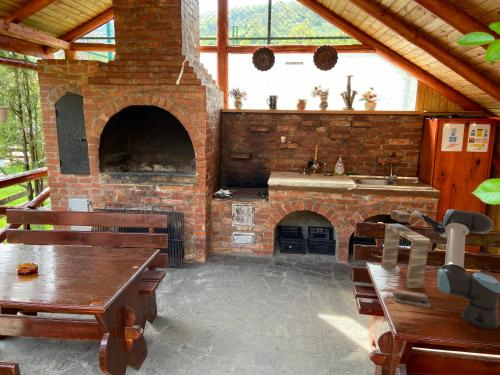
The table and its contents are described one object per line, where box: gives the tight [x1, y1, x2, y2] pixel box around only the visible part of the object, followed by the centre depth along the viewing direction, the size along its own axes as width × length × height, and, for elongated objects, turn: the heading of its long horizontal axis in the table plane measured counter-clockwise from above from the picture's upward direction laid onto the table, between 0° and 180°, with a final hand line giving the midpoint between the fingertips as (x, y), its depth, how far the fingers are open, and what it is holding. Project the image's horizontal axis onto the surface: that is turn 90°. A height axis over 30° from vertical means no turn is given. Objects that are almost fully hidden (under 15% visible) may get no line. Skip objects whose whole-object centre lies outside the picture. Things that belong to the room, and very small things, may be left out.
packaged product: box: [392, 288, 431, 309], centre depth 190 cm, size 18×5×10 cm
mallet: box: [390, 209, 428, 223], centre depth 224 cm, size 10×22×5 cm, turn 98°
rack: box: [380, 223, 431, 289], centre depth 219 cm, size 32×10×30 cm, turn 8°
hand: (416, 212), depth 223 cm, fingers closed on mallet, 2 cm apart
